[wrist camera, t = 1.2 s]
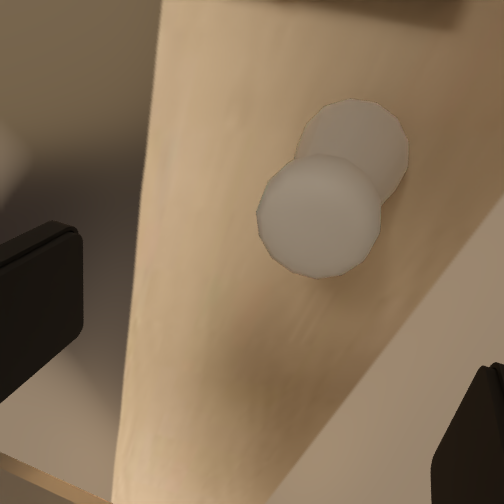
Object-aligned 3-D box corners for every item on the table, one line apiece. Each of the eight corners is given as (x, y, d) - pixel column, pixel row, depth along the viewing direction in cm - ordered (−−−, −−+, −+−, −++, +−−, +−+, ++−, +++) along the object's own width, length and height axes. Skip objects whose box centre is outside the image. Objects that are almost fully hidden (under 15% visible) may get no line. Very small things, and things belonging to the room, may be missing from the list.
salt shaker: (320, 203, 28) (256, 315, 17) (294, 111, 26) (203, 169, 15) (420, 182, 26) (419, 295, 15) (399, 79, 24) (380, 119, 13)
